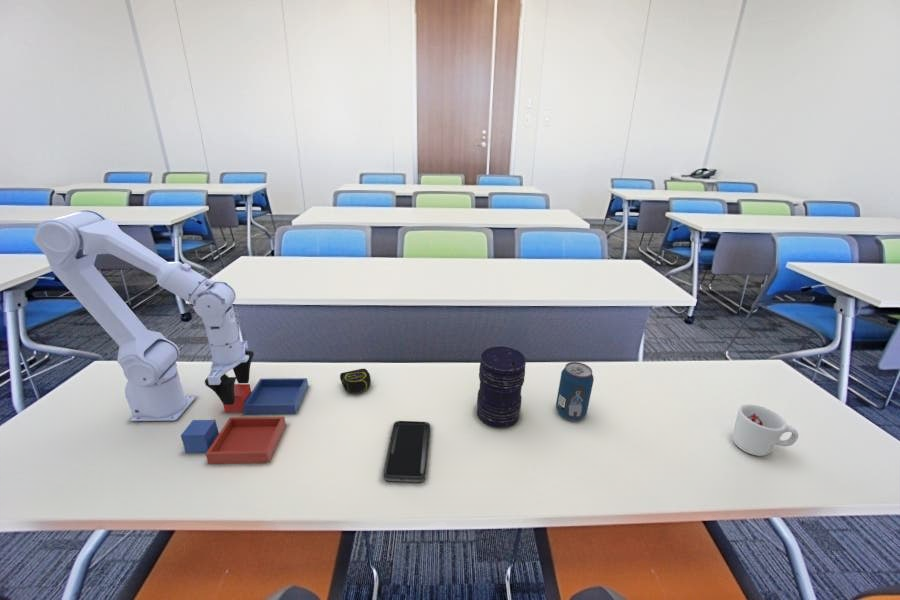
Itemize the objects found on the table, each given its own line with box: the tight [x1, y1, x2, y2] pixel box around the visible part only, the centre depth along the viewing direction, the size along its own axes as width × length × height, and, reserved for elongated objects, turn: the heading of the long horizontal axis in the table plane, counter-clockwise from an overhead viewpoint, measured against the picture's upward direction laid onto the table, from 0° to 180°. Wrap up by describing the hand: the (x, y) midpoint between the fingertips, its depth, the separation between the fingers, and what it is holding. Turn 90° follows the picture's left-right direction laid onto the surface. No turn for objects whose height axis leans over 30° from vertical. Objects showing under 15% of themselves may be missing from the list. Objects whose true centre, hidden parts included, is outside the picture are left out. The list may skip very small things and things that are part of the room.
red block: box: [222, 383, 252, 413], centre depth 90 cm, size 4×4×4 cm
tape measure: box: [339, 368, 372, 394], centre depth 97 cm, size 7×7×4 cm
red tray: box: [205, 416, 287, 465], centre depth 80 cm, size 11×10×2 cm
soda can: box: [555, 361, 595, 422], centre depth 89 cm, size 7×7×12 cm
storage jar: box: [476, 346, 527, 429], centre depth 88 cm, size 10×10×15 cm
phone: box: [382, 420, 431, 483], centre depth 79 cm, size 8×1×15 cm
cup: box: [732, 403, 799, 457], centre depth 82 cm, size 11×8×8 cm
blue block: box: [180, 419, 220, 454], centre depth 79 cm, size 4×4×4 cm
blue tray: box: [243, 377, 309, 416], centre depth 92 cm, size 11×10×2 cm
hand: (236, 392), depth 89 cm, fingers open, 7 cm apart
